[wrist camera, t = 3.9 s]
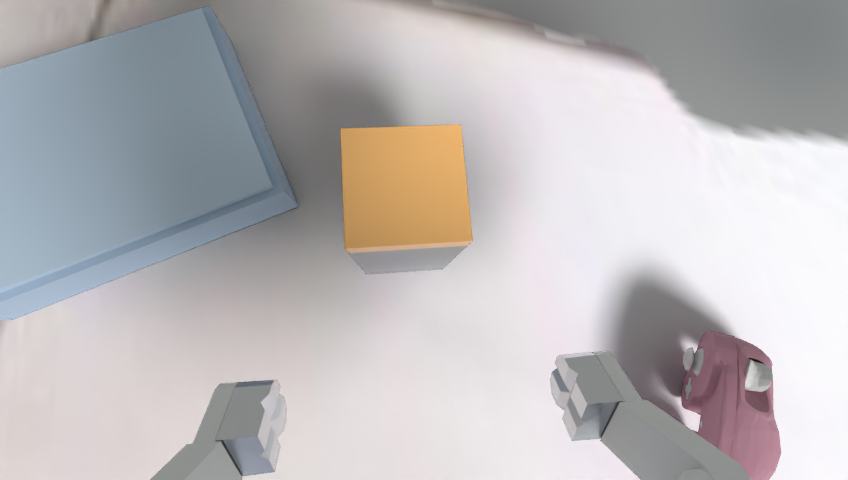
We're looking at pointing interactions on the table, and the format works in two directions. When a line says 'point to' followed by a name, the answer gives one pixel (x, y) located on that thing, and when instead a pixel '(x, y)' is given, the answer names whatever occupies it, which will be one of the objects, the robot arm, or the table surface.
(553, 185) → the table surface
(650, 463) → the robot arm
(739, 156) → the table surface
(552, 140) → the table surface
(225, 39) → the stand
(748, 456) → the video game controller
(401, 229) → the block
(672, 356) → the table surface
